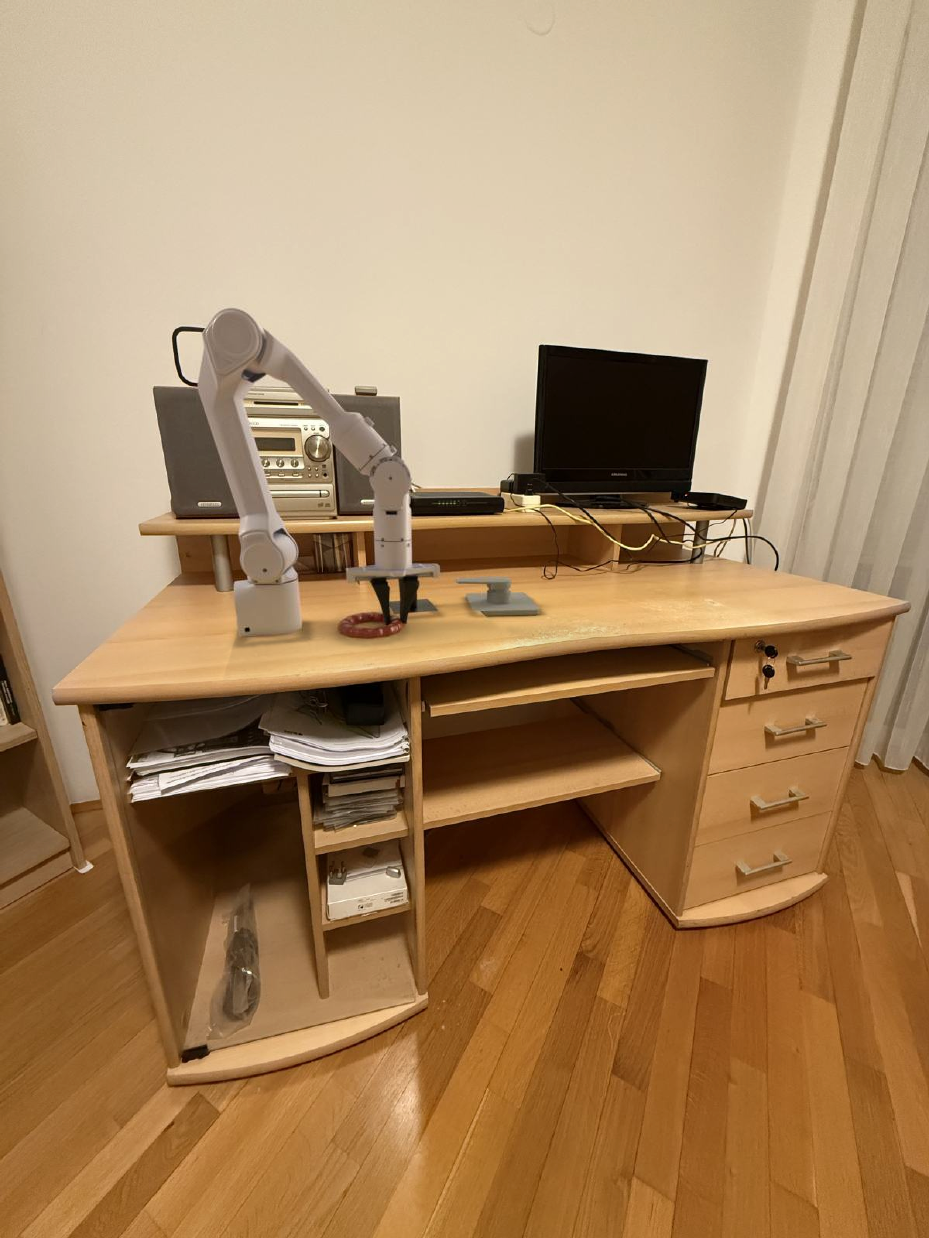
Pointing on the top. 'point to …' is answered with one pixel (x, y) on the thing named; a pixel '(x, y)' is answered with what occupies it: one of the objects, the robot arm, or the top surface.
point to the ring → (357, 632)
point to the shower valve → (499, 598)
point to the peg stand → (414, 605)
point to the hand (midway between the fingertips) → (395, 622)
